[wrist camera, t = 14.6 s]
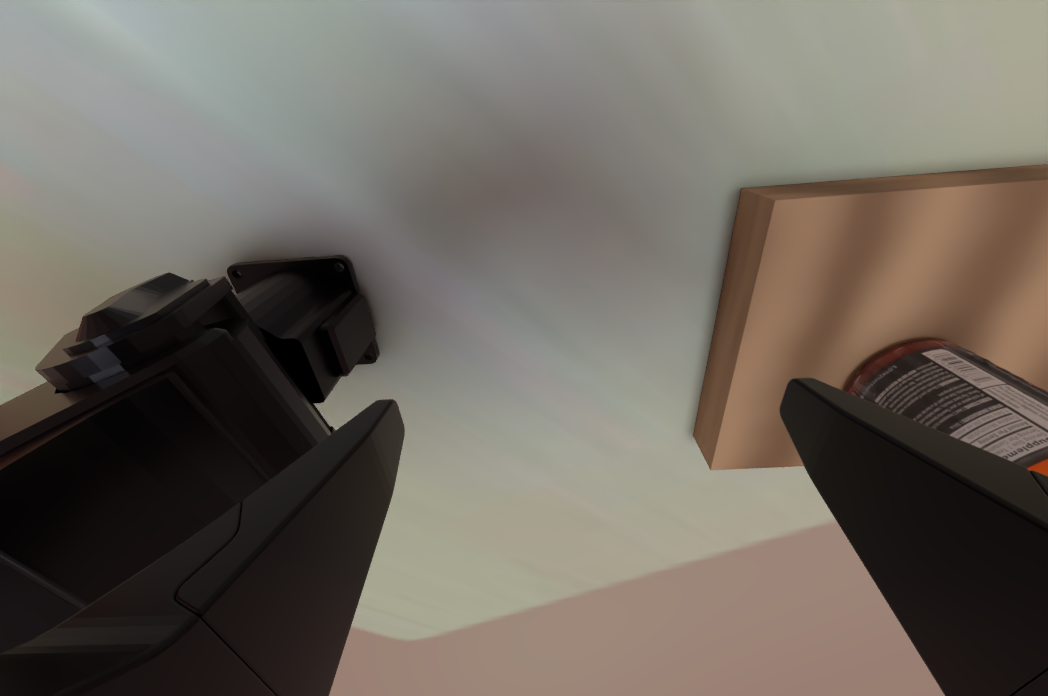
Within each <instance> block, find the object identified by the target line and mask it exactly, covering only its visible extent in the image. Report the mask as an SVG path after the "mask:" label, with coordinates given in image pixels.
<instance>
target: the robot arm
mask: <svg viewBox="0 0 1048 696" xmlns="http://www.w3.org/2000/svg"><path fill="white" fill-rule="evenodd" d="M337 263H341V264H342V265H343V266H344V269H340V268H339V267H338V265H337ZM237 270H238V271H239V272H241V274H242V276H240V275H239V274H238V273H237ZM227 274H228V276H229V278H230V280H231V283H232V285H233V287H234V289H235V291H236V293H237V295H234V294H233V292H232V291H231V290H232V289H233V287H232V286H231V285H230V283H229V282H228V281H227V279H226V278H225V276H223V277H219V278H216V279H213V280H210V281H208V280H207V279H202V280H198V281H193V280H191V281H189V280H186V279H184V278H182V277H179V276H177V275H174V274H172V273H170V272H169V273H166V274H163V275H160V276H157V277H154V278H152V279H150V280H147V281H145V282H143V283H141V284H138V285H136V286H134V287H132V288H129V289H127V290H125V291H123V292H121V293H119V294H117V295H115V296H113V297H111V298H109V299H108V300H106V301H105V302H103V303H102V304H100V305H99V306H97V307H96V308H94V309H93V310H91V311H90V312H88V313H87V314H85V315H84V316H83V317H82V321H81V324H80V327H79V328H78V329H76V330H74V331H72V332H70V333H68V334H66V335H64V336H63V338H62V339H61V340H60V341H59V342H58V343H57V344H56V345H55V346H54V347H53V349H52V350H51V351H50V352H49V353H48V354H47V355H46V356H45V357H44V359H43V360H42V361H41V362H40V363H39V364H38V365H37V366H36V368H35V370H36V371H37V372H38V373H39V374H40V375H42V376H43V377H44V378H45V379H46V380H47V381H48V382H46V383H44V384H42V385H40V386H38V387H36V388H34V389H32V390H30V391H28V392H26V393H24V394H22V395H20V396H18V397H16V398H14V399H12V400H10V401H8V402H6V403H4V404H2V405H0V696H329V693H330V690H331V687H332V684H333V681H334V678H335V674H336V671H337V668H338V665H339V661H340V659H341V656H342V652H343V649H344V646H345V643H346V640H347V637H348V634H349V630H350V627H351V624H352V621H353V618H354V615H355V612H356V608H357V605H358V602H359V599H360V596H361V593H362V590H363V586H364V583H365V580H366V577H367V574H368V571H369V568H370V564H371V561H372V558H373V555H374V552H375V549H376V545H377V542H378V539H379V536H380V533H381V530H382V527H383V523H384V520H385V517H386V514H387V511H388V508H389V505H390V501H391V498H392V494H393V490H394V486H395V481H396V476H397V470H398V465H399V460H400V455H401V450H402V445H403V440H404V433H405V429H404V424H403V421H402V417H401V414H400V411H399V407H398V404H397V402H396V401H395V400H393V399H389V400H377V401H376V402H374V403H373V404H371V405H370V406H369V407H367V408H366V409H365V410H363V411H362V412H361V413H359V414H358V415H356V416H355V417H354V418H352V419H351V420H350V421H348V422H347V423H346V424H344V425H343V426H342V427H340V428H339V429H338V430H336V431H335V429H334V428H333V427H332V426H331V427H330V426H329V425H328V423H327V422H326V421H325V419H324V418H323V416H322V415H321V414H320V412H319V411H318V410H317V408H316V407H315V405H314V404H313V403H322V402H324V401H325V399H326V398H327V396H328V395H329V393H330V392H331V391H332V389H333V388H334V386H335V385H336V384H337V382H338V381H339V379H340V378H341V377H343V376H348V375H349V373H350V372H351V371H352V369H353V368H354V366H355V365H358V364H372V363H374V362H376V360H377V359H378V357H379V351H378V348H377V345H376V342H375V338H374V337H375V336H376V332H375V328H374V325H373V322H372V319H371V315H370V312H369V309H368V306H367V302H366V299H365V296H364V295H363V294H362V293H360V290H359V287H358V284H357V281H356V278H355V274H354V271H353V268H352V265H351V263H350V261H349V260H348V259H347V258H346V257H344V256H326V257H312V258H299V259H285V260H271V261H258V262H244V263H236V264H233V265H231V266H230V267H229V268H228V269H227ZM367 353H370V354H371V355H372V356H373V357H370V356H368V355H367ZM779 411H780V416H781V419H782V421H783V423H784V425H785V427H786V429H787V431H788V434H789V436H790V438H791V440H792V442H793V444H794V446H795V448H796V450H797V452H798V454H799V456H800V458H801V461H802V463H803V465H804V467H805V469H806V471H807V473H808V474H809V476H810V478H811V480H812V482H813V483H814V485H815V487H816V488H817V490H818V492H819V493H820V495H821V496H822V498H823V500H824V501H825V503H826V504H827V506H828V508H829V509H830V511H831V512H832V514H833V516H834V517H835V519H836V521H837V522H838V524H839V525H840V527H841V529H842V530H843V532H844V533H845V535H846V537H847V538H848V540H849V542H850V543H851V545H852V546H853V548H854V550H855V551H856V553H857V554H858V556H859V558H860V559H861V561H862V562H863V564H864V566H865V567H866V569H867V570H868V572H869V574H870V575H871V577H872V579H873V580H874V582H875V583H876V585H877V587H878V588H879V590H880V592H881V593H882V595H883V596H884V598H885V600H886V601H887V603H888V604H889V606H890V608H891V609H892V611H893V612H894V614H895V616H896V617H897V619H898V621H899V622H900V623H901V625H902V627H903V628H904V630H905V632H906V633H907V635H908V637H909V638H910V640H911V641H912V643H913V645H914V646H915V648H916V650H917V651H918V653H919V654H920V656H921V658H922V659H923V661H924V662H925V664H926V666H927V667H928V669H929V670H930V672H931V674H932V675H933V677H934V678H935V680H936V682H937V683H938V685H939V687H940V688H941V690H942V692H943V693H944V694H945V696H1048V476H1045V475H1043V474H1041V473H1038V472H1036V471H1033V470H1030V471H1029V470H1028V469H1027V468H1026V467H1024V466H1021V465H1019V464H1017V463H1014V462H1012V461H1009V460H1007V459H1005V458H1002V457H1000V456H998V455H995V454H993V453H990V452H988V451H986V450H983V449H981V448H979V447H976V446H974V445H971V444H969V443H967V442H964V441H962V440H959V439H957V438H955V437H952V436H950V435H948V434H945V433H943V432H940V431H938V430H936V429H933V428H931V427H929V426H926V425H924V424H921V423H919V422H917V421H914V420H912V419H909V418H907V417H905V416H902V415H900V414H898V413H895V412H893V411H890V410H888V409H886V408H883V407H881V406H879V405H876V404H874V403H871V402H869V401H867V400H864V399H862V398H859V397H857V396H855V395H852V394H850V393H848V392H845V391H843V390H840V389H838V388H836V387H833V386H831V385H829V384H826V383H824V382H821V381H819V380H817V379H814V378H810V377H806V378H793V379H791V380H790V381H789V382H788V383H787V386H786V389H785V392H784V395H783V398H782V401H781V404H780V410H779Z"/></svg>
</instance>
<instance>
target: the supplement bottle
mask: <svg viewBox="0 0 1048 696" xmlns="http://www.w3.org/2000/svg"><path fill="white" fill-rule="evenodd" d="M846 392H848V393H850V394H852V395H855V396H857V397H859V398H862V399H864V400H867V401H869V402H871V403H874V404H876V405H879V406H881V407H883V408H886V409H888V410H890V411H893V412H895V413H898V414H900V415H902V416H905V417H907V418H909V419H912V420H914V421H917V422H919V423H921V424H924V425H926V426H929V427H931V428H933V429H936V430H938V431H940V432H943V433H945V434H948V435H950V436H952V437H955V438H957V439H959V440H962V441H964V442H967V443H969V444H971V445H974V446H976V447H979V448H981V449H983V450H986V451H988V452H990V453H993V454H995V455H998V456H1000V457H1002V458H1005V459H1007V460H1009V461H1012V462H1014V463H1017V464H1019V465H1021V466H1024V467H1026V468H1027V469H1028V470H1029V471H1030V470H1033V471H1036V472H1038V473H1041V474H1043V475H1045V476H1048V392H1047V391H1045V390H1043V389H1041V388H1039V387H1037V386H1035V385H1033V384H1031V383H1029V382H1028V381H1026V380H1024V379H1023V378H1021V377H1019V376H1017V375H1015V374H1013V373H1011V372H1009V371H1007V370H1005V369H1003V368H1001V367H999V366H997V365H995V364H994V363H992V362H991V361H989V360H987V359H985V358H983V357H981V356H979V355H977V354H975V353H974V352H972V351H969V350H967V349H965V348H962V347H960V346H958V345H956V344H953V343H950V342H946V341H943V340H923V341H916V342H911V343H906V344H904V345H899V346H897V347H895V348H892V349H889V350H888V351H886V352H884V353H883V354H881V355H879V356H878V357H876V358H874V359H873V360H871V362H869V363H868V364H866V365H865V366H864V367H863V368H862V369H861V370H860V371H858V372H857V373H856V375H855V377H854V378H853V380H852V381H851V383H850V385H849V386H848V388H847V391H846Z"/></svg>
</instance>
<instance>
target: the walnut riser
mask: <svg viewBox="0 0 1048 696" xmlns="http://www.w3.org/2000/svg"><path fill="white" fill-rule="evenodd" d="M923 340H943V341H946V342H950V343H953V344H956V345H958V346H960V347H962V348H965V349H967V350H969V351H972V352H974V353H975V354H977V355H979V356H981V357H983V358H985V359H987V360H989V361H991V362H992V363H994V364H995V365H997V366H999V367H1001V368H1003V369H1005V370H1007V371H1009V372H1011V373H1013V374H1015V375H1017V376H1019V377H1021V378H1023V379H1024V380H1026V381H1028V382H1029V383H1031V384H1033V385H1035V386H1037V387H1039V388H1041V389H1043V390H1045V391H1047V392H1048V165H1035V166H1022V167H1010V168H997V169H984V170H971V171H958V172H945V173H932V174H920V175H907V176H894V177H881V178H868V179H855V180H842V181H829V182H817V183H804V184H791V185H778V186H765V187H752V188H741V193H740V199H739V204H738V209H737V214H736V219H735V224H734V229H733V235H732V240H731V245H730V250H729V255H728V260H727V265H726V271H725V276H724V281H723V286H722V291H721V296H720V301H719V307H718V312H717V317H716V322H715V327H714V332H713V337H712V343H711V348H710V353H709V358H708V363H707V368H706V373H705V379H704V384H703V389H702V394H701V399H700V404H699V409H698V414H697V420H696V425H695V430H694V435H693V436H694V438H695V440H696V442H697V444H698V446H699V448H700V450H701V452H702V454H703V456H704V458H705V460H706V462H707V464H708V466H709V468H710V470H725V469H748V468H770V467H793V466H804V465H803V463H802V461H801V458H800V456H799V454H798V452H797V450H796V448H795V446H794V444H793V442H792V440H791V438H790V436H789V434H788V431H787V429H786V427H785V425H784V423H783V421H782V419H781V416H780V411H779V410H780V404H781V401H782V398H783V395H784V392H785V389H786V386H787V383H788V382H789V381H790V380H791V379H793V378H806V377H810V378H814V379H817V380H819V381H821V382H824V383H826V384H829V385H831V386H833V387H836V388H838V389H840V390H843V391H845V392H846V391H847V388H848V386H849V385H850V383H851V381H852V380H853V378H854V377H855V375H856V373H857V372H858V371H860V370H861V369H862V368H863V367H864V366H865V365H866V364H868V363H869V362H871V360H873V359H874V358H876V357H878V356H879V355H881V354H883V353H884V352H886V351H888V350H889V349H892V348H895V347H897V346H899V345H904V344H906V343H911V342H916V341H923Z"/></svg>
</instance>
